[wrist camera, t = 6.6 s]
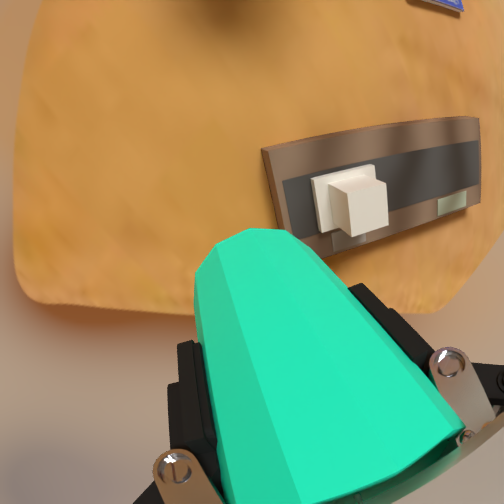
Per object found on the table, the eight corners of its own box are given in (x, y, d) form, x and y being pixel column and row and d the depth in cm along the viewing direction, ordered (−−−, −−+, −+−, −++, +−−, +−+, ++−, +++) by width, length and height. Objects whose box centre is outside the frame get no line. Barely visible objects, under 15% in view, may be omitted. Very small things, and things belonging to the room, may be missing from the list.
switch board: (465, 115, 23) (479, 118, 21) (467, 197, 27) (480, 203, 25) (260, 148, 21) (268, 151, 19) (284, 257, 25) (292, 268, 23)
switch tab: (370, 164, 21) (397, 173, 18) (374, 212, 23) (399, 227, 20) (310, 178, 21) (331, 189, 18) (318, 230, 23) (339, 248, 20)
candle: (178, 242, 12) (221, 605, 2) (317, 214, 13) (552, 429, 3) (207, 351, 15) (264, 593, 4) (319, 323, 16) (445, 520, 5)
